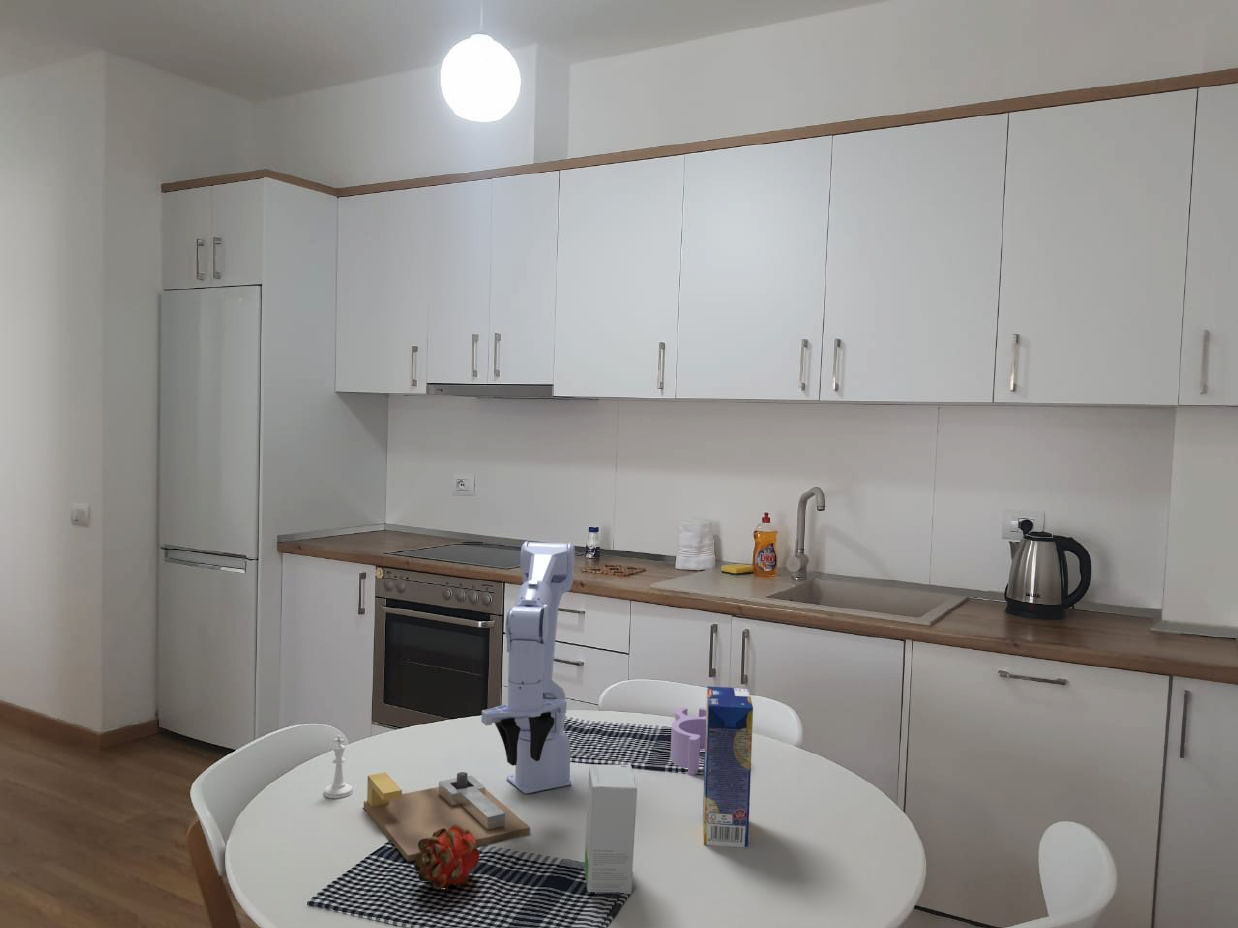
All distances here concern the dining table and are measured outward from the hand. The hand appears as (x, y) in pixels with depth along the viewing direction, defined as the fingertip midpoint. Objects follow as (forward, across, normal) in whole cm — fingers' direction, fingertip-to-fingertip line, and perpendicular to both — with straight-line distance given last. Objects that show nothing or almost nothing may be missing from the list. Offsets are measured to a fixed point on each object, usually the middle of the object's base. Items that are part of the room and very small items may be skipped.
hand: (523, 761), depth 152 cm
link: (+8, -6, +5) cm, 11 cm away
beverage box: (+10, +26, -20) cm, 35 cm away
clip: (+10, +44, +9) cm, 46 cm away
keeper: (+8, -20, +11) cm, 24 cm away
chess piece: (+10, -24, +24) cm, 35 cm away
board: (+9, -12, +5) cm, 16 cm away
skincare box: (+10, +2, -25) cm, 27 cm away
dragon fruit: (+10, -18, -14) cm, 25 cm away
